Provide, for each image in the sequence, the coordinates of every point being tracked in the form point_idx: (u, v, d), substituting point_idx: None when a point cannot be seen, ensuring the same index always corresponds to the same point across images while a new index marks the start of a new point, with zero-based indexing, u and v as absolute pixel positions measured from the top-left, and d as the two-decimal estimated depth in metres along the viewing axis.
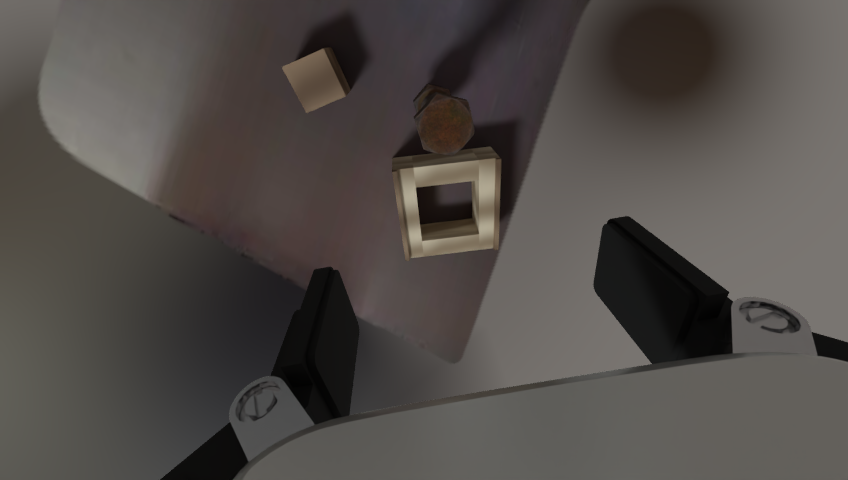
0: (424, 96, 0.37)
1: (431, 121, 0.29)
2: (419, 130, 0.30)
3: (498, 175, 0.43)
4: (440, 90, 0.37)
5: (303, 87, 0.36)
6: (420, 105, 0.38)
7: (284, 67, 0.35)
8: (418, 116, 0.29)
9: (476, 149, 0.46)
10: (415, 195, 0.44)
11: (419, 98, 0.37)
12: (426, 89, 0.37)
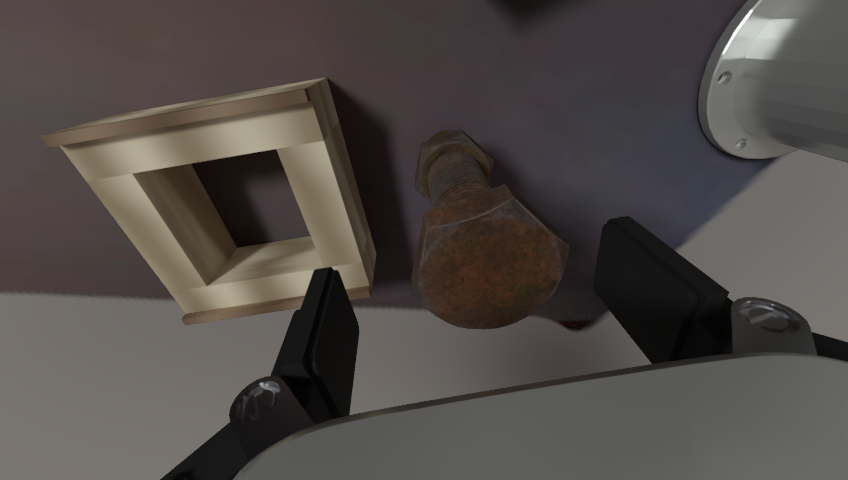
0: (476, 156, 0.19)
1: (509, 245, 0.11)
2: (486, 217, 0.10)
3: None
4: None
5: None
6: (459, 149, 0.18)
7: None
8: (523, 210, 0.10)
9: (369, 236, 0.27)
10: (255, 149, 0.18)
11: (472, 146, 0.18)
12: (487, 158, 0.19)
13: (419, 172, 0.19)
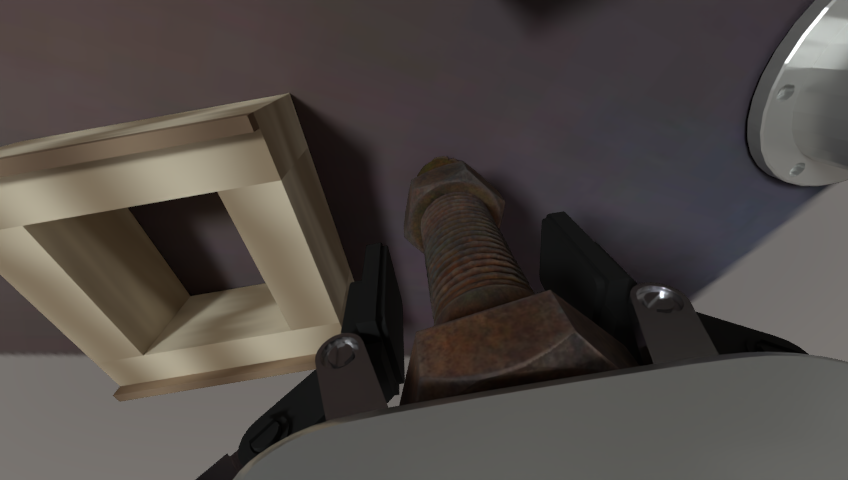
0: (483, 197, 0.14)
1: None
2: (528, 369, 0.06)
3: (313, 365, 0.19)
4: None
5: None
6: (461, 189, 0.14)
7: None
8: (591, 351, 0.06)
9: (351, 281, 0.22)
10: (188, 192, 0.14)
11: (478, 185, 0.14)
12: (497, 199, 0.15)
13: (409, 218, 0.15)
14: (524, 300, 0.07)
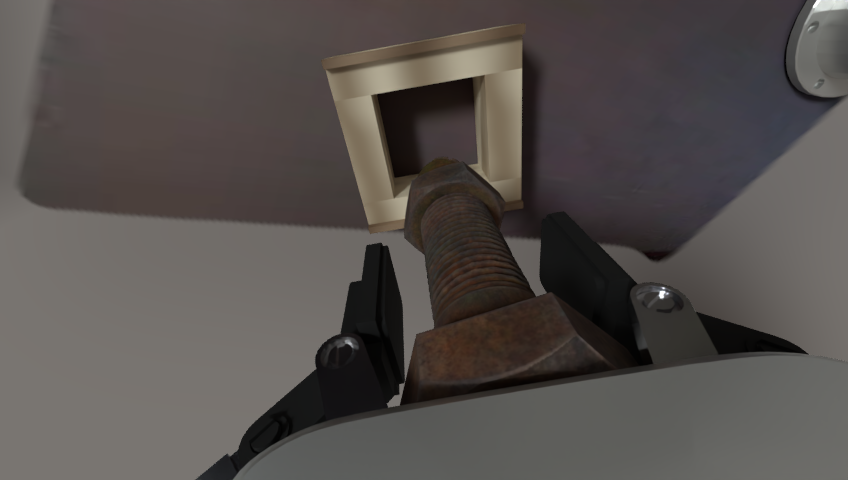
0: (483, 198, 0.14)
1: None
2: (529, 373, 0.06)
3: None
4: None
5: None
6: (462, 190, 0.14)
7: None
8: (593, 355, 0.06)
9: None
10: (469, 75, 0.24)
11: (478, 186, 0.14)
12: (498, 200, 0.15)
13: (409, 219, 0.15)
14: (525, 302, 0.07)
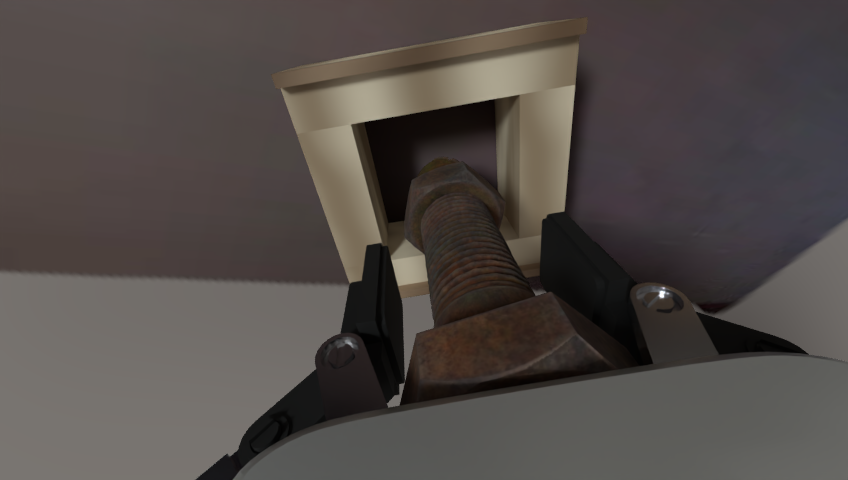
0: (483, 198, 0.14)
1: None
2: (529, 372, 0.06)
3: (530, 273, 0.21)
4: None
5: None
6: (461, 190, 0.14)
7: None
8: (593, 354, 0.06)
9: None
10: (497, 95, 0.16)
11: (478, 185, 0.14)
12: (498, 200, 0.15)
13: (409, 218, 0.15)
14: (525, 302, 0.07)
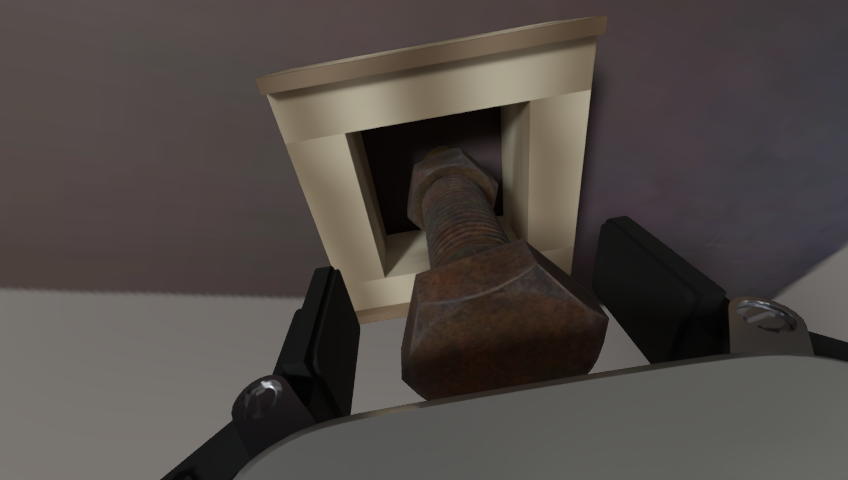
0: (478, 180, 0.16)
1: (530, 324, 0.08)
2: (500, 292, 0.07)
3: None
4: None
5: None
6: (458, 172, 0.16)
7: None
8: (550, 280, 0.07)
9: None
10: (505, 101, 0.15)
11: (473, 168, 0.16)
12: (491, 182, 0.16)
13: (412, 199, 0.16)
14: (501, 246, 0.08)
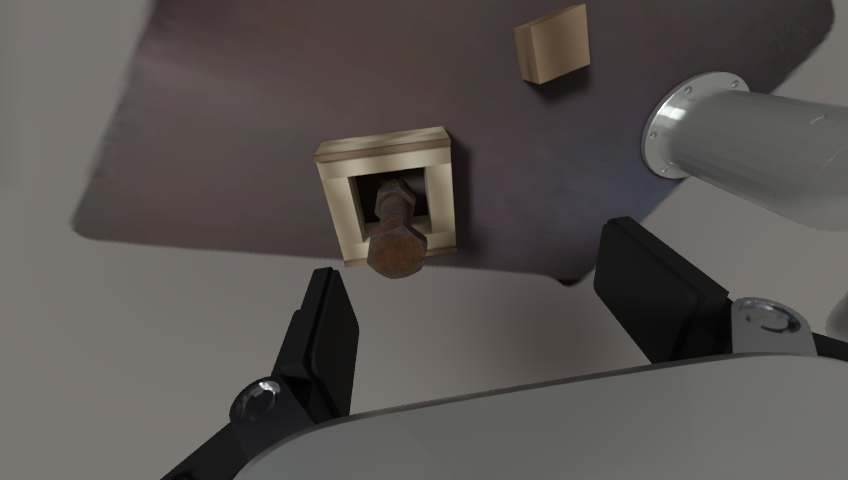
0: (405, 198, 0.36)
1: (402, 243, 0.28)
2: (392, 232, 0.28)
3: (439, 252, 0.40)
4: (411, 212, 0.37)
5: (559, 28, 0.30)
6: (396, 194, 0.36)
7: (584, 7, 0.29)
8: (406, 230, 0.28)
9: None
10: (415, 166, 0.35)
11: (403, 193, 0.36)
12: (412, 199, 0.37)
13: (376, 205, 0.37)
14: (396, 221, 0.29)
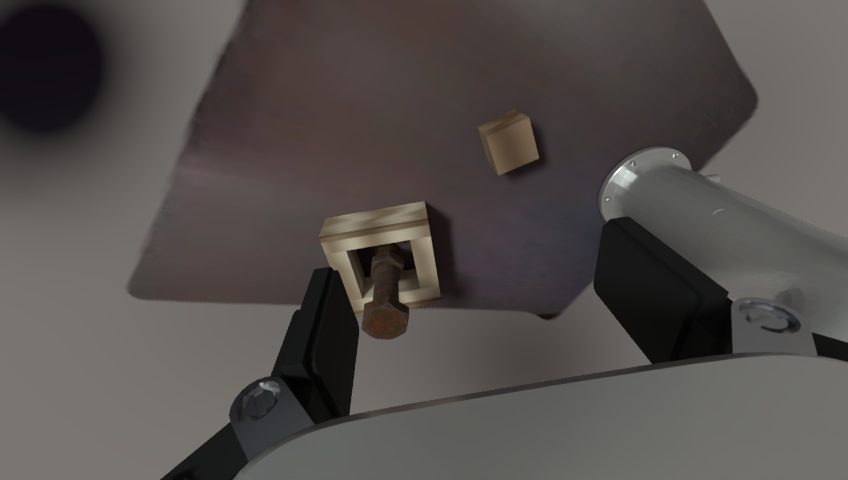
0: (395, 264, 0.44)
1: (388, 315, 0.36)
2: (379, 308, 0.35)
3: (427, 303, 0.48)
4: (400, 274, 0.45)
5: (509, 136, 0.37)
6: (387, 262, 0.44)
7: (528, 120, 0.36)
8: (390, 305, 0.35)
9: None
10: (401, 240, 0.43)
11: (392, 260, 0.44)
12: (400, 264, 0.44)
13: (371, 270, 0.44)
14: (383, 297, 0.36)
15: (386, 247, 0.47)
